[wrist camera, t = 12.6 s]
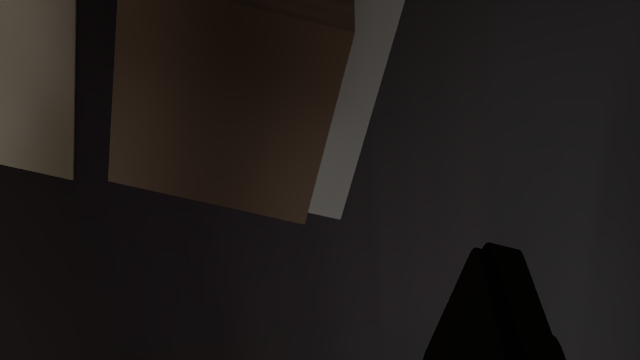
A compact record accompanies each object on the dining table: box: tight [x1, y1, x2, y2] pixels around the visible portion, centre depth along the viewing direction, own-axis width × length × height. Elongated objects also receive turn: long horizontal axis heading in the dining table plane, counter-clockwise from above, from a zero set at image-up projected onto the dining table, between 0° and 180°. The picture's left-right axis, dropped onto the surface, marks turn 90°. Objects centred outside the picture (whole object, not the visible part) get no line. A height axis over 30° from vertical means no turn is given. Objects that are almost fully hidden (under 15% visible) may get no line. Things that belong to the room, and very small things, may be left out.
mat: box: [308, 0, 405, 219], centre depth 22 cm, size 10×14×1 cm
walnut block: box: [108, 0, 355, 224], centre depth 18 cm, size 6×6×7 cm
